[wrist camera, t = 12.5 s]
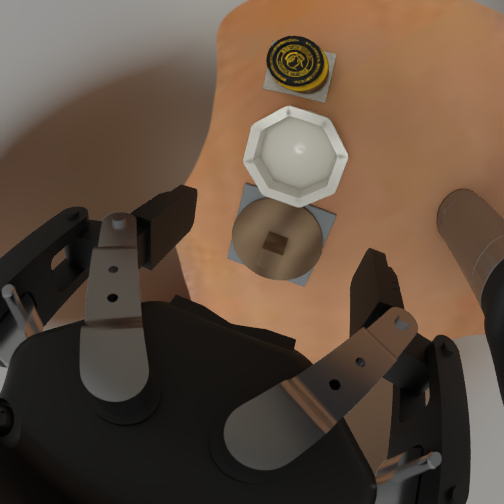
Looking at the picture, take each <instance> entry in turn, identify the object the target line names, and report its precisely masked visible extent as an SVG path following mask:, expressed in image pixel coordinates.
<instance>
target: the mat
mask: <svg viewBox="0 0 504 504" xmlns="http://www.w3.org/2000/svg"><path fill="white" fill-rule="evenodd" d="M264 197H266V196H263V194H261V192H260V190H259V188H258V187H257V186H255V185H252V184H249V183H245V186H244V190H243V194H242V198H241V202H240V207H239V211H238V215H237V217H238V216H239V214H240V213H241V211H242V210H243V209H244V208H245V207H246V206H247V205H249V204H250V203H252V202H253V201H255V200H258V199H260V198H264ZM304 207H306V208H307V209H308V210H309V211H310V212H311V213H312V214H313V215H314V217H315V218H316V219H317V221H318V223H319V225H320V228H321V231H322V238H323V243H322V248H323V245H324V243H325V241H326V239H327V236H328V234H329V232H330V230H331V227H332V225H333V223H334V220H335V218H336V214H334V213H332V212H329V211H326V210H324V209H321V208H318V207H316V206H313V205H310V204H308V205H305V206H304ZM227 259H230V260H233V261H235V262H238V263H241V264H244V263H243V262H242V261H241V260H240V258H239V257H238V255H237V253H236V251H235V249H234V246H233V241H232V240H231V245H230V249H229V253H228V258H227ZM244 265H245V264H244ZM312 269H313V268H312ZM312 269H311V270H310V271H309V272H307V273H306V274H304V275H302V276H300V277H298V278H295V279H290V280H287V281H290V282H293V283H296V284H298V285H301V286H305V284H306V282H307V280H308V278H309V276H310V274H311V272H312Z"/></svg>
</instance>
